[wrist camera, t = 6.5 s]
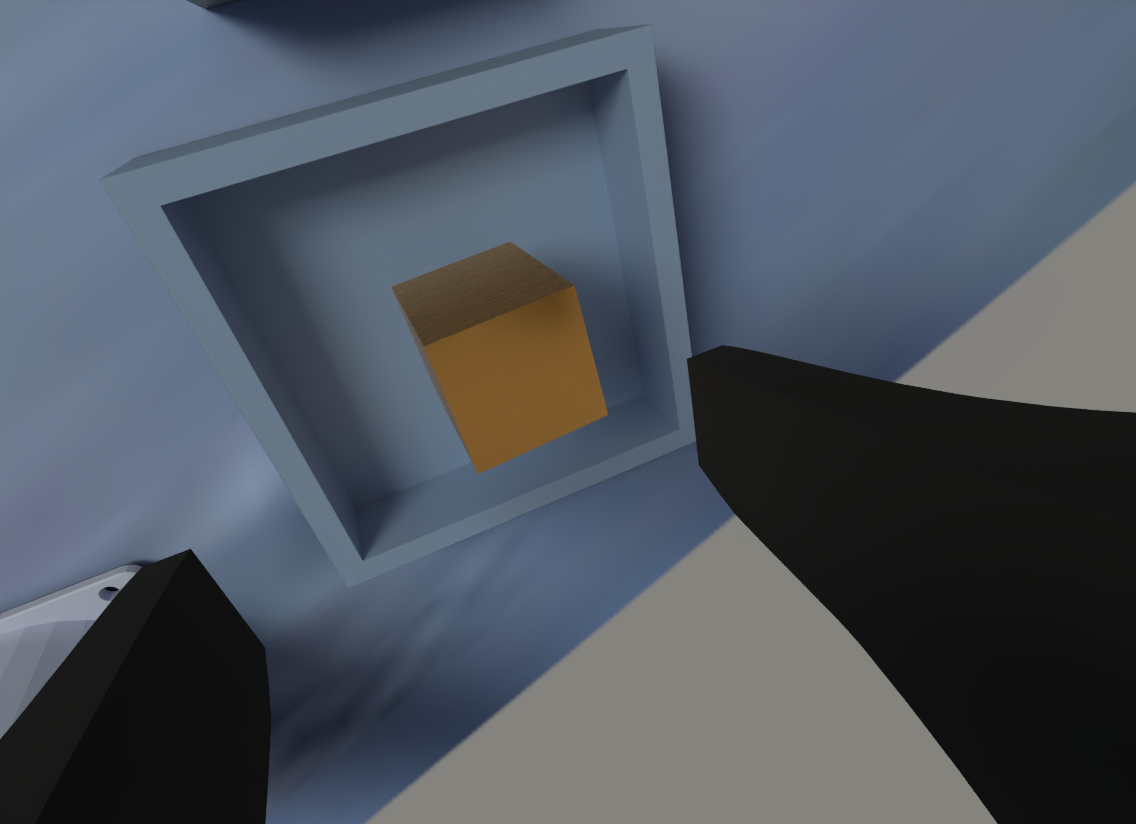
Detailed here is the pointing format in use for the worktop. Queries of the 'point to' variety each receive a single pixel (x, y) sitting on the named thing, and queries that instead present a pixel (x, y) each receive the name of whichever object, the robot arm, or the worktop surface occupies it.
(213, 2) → the block
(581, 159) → the tray
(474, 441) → the orange rectangular block
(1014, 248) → the worktop surface
